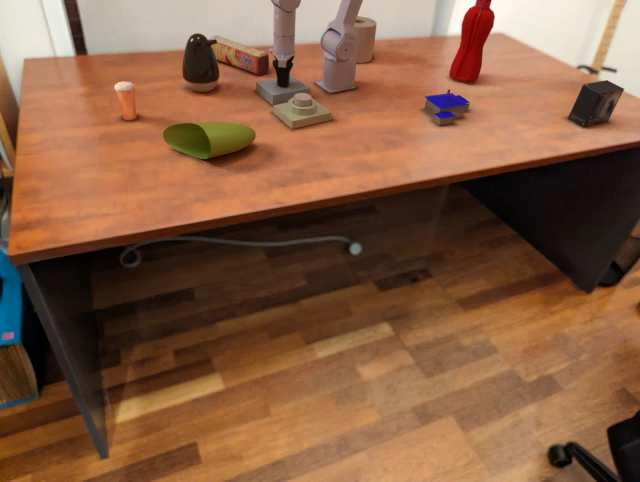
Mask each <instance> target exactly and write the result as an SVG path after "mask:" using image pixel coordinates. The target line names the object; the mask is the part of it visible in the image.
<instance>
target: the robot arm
mask: <svg viewBox="0 0 640 482" xmlns="http://www.w3.org/2000/svg"><path fill="white" fill-rule="evenodd" d="M363 1H364V0H341V1H340V5H339V7H338V10H337V13H336V16H335V18H334V19H332V20H331V21H330V22H328V24H327V27H326V29H325V30H324V32H323V33H322V34H321V36H320V41H319V42H320V46H321V48H322V49H323V63H322V77H321V80H318V81H316V82H315V84H316V85H317V86H319V87H320V88H321V89H323V90H324V91H326V92H327V93H328V94H333V93H338V92H343V91H348V90H354V89H356V85H355V80H356V71H357V63H356V62H355V59H354V57H353V56H352V55H353V53H354V49H355V39H356V33H355V29H354V24H355V21H356V18H357V16H359V12H360V10H361V8H362V4H363ZM270 2H271V3H272V5H273V34H272V35H273V41H272V42H273V43H272V44H273V45H272V47H270V48H268V54H272V55H273V57H274V59H272V63H271V64H272V67H273V69H274V71H275V74H276V78H277V80H278V85H279V86H280V87H286V86H287V82H288V77H289V73H290V72H291V70H292V69H293V67H294V62H293V60H294V59H295V55H296V50H295V46H296V44H295V43H296V19H297V18H296V17H297V16H296V15H297V9H299V7H300V6H301V3H302V0H270Z"/></svg>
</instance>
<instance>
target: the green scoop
mask: <svg viewBox="0 0 640 482" xmlns="http://www.w3.org/2000/svg"><path fill="white" fill-rule="evenodd" d="M162 137H163V140H164V142H165V143H166V144H167V145H168V146H169V147H171V148H173V149H174V150H176V151H178V152H181V153H183V154H185V155H188V156H190V157H193V158H197V159H200V160H207V159H211V158H216V157H220V156H225V155H228V154H232V153H235V152H238V151H241V150H243V149H245V148H247V147H248V146H250V145H252V143H254V141H255V140H256V137H257V134H256V131H255V130H254V129H253V128H252V127H251V126H248V125H246V124H240V123H235V122H224V121H223V122H219V121H217V122H213V121H212V122H210V121H209V122H208V121H207V122H182V123H181V122H180V123H176V124H172V125H170V126H167V127H166V128H165V129H164V130H163V133H162Z"/></svg>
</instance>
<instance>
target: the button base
mask: <svg viewBox="0 0 640 482" xmlns="http://www.w3.org/2000/svg"><path fill="white" fill-rule="evenodd" d="M272 106H273V107H272V109H273V110H272V111H273V112H272V113H273V114H274V115H275V116H276V117H277V118H278V119H280V120H281V121H282V122H283V123H284V124H286V125H287V126H288V128H290V129H291V130H293V129H298V128H303V127H305V126H306V127H307V126H312V125H315V124H319V123H324V122H328V121H331V119H332V112H331V111H330V110H329V109H327V108H326V107H325V106H323V105H322V104H321V103H319V102H318V101H316V100H315V99H314V98H313V97H312V100H311V106H308V107H299V106H296V105H294V97H293V98H291V99H290V100H288V103H283V104H278V105H272Z"/></svg>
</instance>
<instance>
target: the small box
mask: <svg viewBox="0 0 640 482" xmlns="http://www.w3.org/2000/svg"><path fill="white" fill-rule="evenodd" d="M624 91H625V88H624V87H622V86H619V85H617V84H615V83H613V82H612V81H609V80H607V79H605V80H600V81H594V82H588V83H583V84H582V86H581V87H580V91H579V92H578V94H577V97H576V99H575V102H574V103H573V106H572V108H571V110H570V112H569V114H568V116H567V119H569V121H572V122H573V123H576V124H577V125H578V126H580V127H582V128H588V127H592V126H597V125H601V124H606V123H608V122H609V121H610V119H611V117H612V115H613V113H614V111H615V109H616V106H617V105H618V103H619V100H620V98H621V97H622V95H623V92H624Z"/></svg>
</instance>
